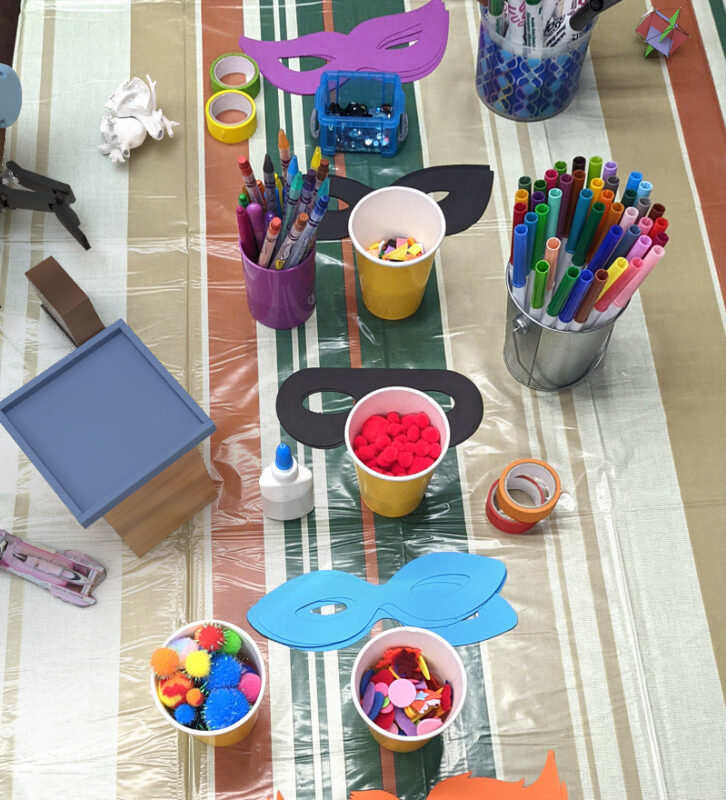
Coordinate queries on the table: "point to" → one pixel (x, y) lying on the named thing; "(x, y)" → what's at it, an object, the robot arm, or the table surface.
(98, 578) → the pink toy racer
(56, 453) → the tray
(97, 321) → the brown angled block
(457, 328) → the table surface
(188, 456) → the wooden block
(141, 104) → the heart
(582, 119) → the table surface
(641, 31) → the geometric puzzle
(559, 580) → the table surface
